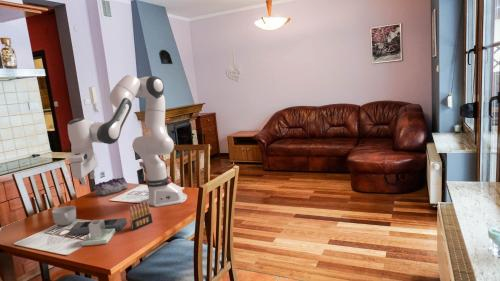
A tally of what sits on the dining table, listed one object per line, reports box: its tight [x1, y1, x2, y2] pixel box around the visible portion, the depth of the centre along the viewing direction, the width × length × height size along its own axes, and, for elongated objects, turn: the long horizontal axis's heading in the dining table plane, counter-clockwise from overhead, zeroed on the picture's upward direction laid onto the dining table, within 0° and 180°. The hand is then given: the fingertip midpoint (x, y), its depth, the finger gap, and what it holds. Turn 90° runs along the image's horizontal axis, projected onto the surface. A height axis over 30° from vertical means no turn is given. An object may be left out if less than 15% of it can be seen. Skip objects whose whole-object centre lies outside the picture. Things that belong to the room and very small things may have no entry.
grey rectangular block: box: [88, 218, 107, 241], centre depth 154 cm, size 5×5×9 cm
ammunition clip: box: [129, 200, 153, 231], centre depth 164 cm, size 11×2×12 cm, turn 139°
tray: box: [80, 229, 116, 247], centre depth 154 cm, size 11×11×2 cm
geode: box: [93, 176, 128, 197], centre depth 220 cm, size 20×12×10 cm, turn 135°
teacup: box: [51, 205, 77, 227], centre depth 173 cm, size 14×11×8 cm
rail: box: [69, 217, 128, 236], centre depth 165 cm, size 24×8×3 cm, turn 93°
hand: (88, 181), depth 158 cm, fingers open, 8 cm apart
